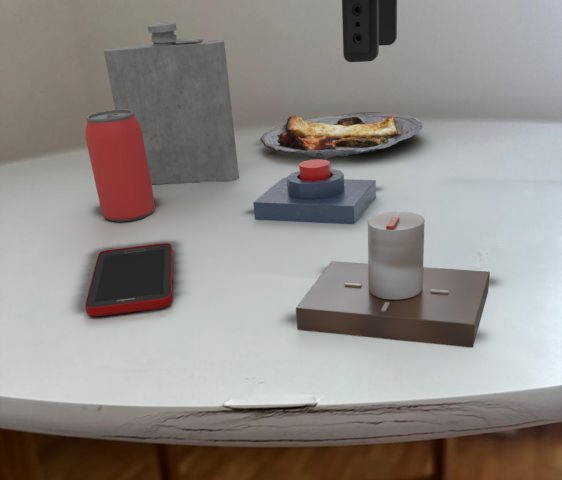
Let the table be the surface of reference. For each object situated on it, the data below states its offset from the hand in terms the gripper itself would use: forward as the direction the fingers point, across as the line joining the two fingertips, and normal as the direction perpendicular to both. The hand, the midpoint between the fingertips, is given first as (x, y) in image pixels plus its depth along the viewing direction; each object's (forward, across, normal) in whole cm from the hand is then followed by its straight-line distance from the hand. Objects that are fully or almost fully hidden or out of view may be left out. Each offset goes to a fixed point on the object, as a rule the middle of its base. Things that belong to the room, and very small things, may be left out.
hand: (372, 52), depth 49 cm
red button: (+16, +26, +11) cm, 32 cm away
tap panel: (+20, 0, -2) cm, 20 cm away
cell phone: (+20, +3, +24) cm, 31 cm away
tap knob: (+18, 0, -2) cm, 18 cm away
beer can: (+20, +22, +34) cm, 46 cm away
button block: (+20, +26, +11) cm, 34 cm away
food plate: (+20, +57, +15) cm, 62 cm away
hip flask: (+20, +37, +33) cm, 54 cm away
